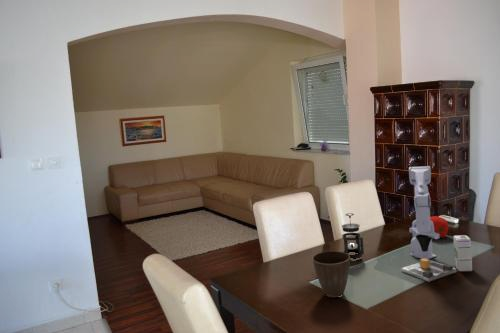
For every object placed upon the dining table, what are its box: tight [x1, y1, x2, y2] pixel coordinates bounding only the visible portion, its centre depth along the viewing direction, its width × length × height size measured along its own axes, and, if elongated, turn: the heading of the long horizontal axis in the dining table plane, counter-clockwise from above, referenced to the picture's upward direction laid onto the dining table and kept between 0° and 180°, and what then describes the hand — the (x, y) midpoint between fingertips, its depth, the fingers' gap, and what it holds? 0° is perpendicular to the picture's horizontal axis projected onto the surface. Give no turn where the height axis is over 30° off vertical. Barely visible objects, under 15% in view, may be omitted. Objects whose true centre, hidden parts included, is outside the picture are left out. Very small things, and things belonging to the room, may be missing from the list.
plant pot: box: [312, 250, 351, 296], centre depth 168 cm, size 15×15×16 cm
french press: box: [341, 212, 365, 259], centre depth 207 cm, size 12×9×23 cm
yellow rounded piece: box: [419, 258, 431, 269], centre depth 183 cm, size 3×3×4 cm
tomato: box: [430, 215, 450, 238], centre depth 227 cm, size 13×13×13 cm
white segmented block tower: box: [453, 234, 473, 272], centre depth 181 cm, size 6×6×14 cm
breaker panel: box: [400, 259, 458, 283], centre depth 182 cm, size 15×17×3 cm
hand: (424, 251), depth 182 cm, fingers closed
